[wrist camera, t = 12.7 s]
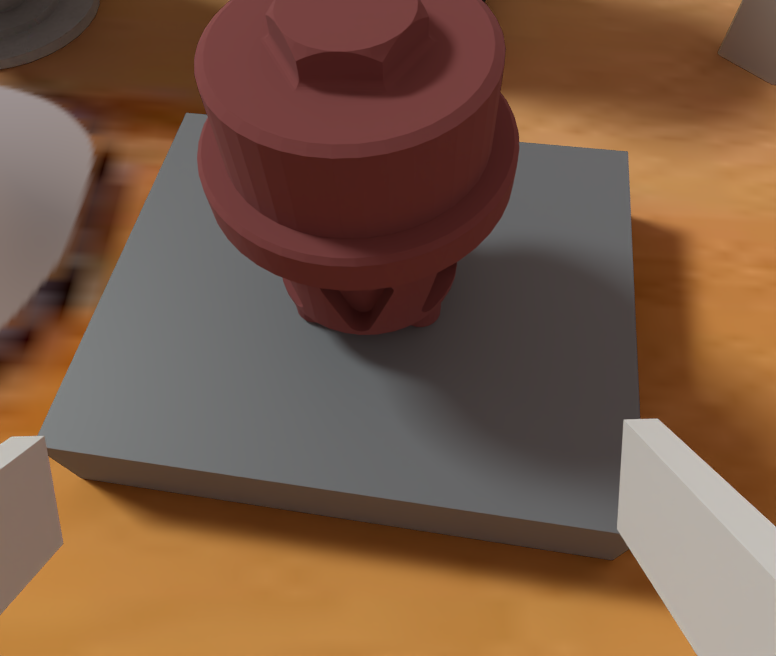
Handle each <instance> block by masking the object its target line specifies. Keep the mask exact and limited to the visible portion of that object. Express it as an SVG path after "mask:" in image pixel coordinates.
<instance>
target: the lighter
mask: <svg viewBox="0 0 776 656" xmlns="http://www.w3.org/2000/svg"><path fill="white" fill-rule="evenodd" d="M718 55H720V56H722V57H723V58H725V59H727V60H729V61H731V62H732V63H734V64H736V65H738V66H740V67H741V68H743V69H745V70H747V71H749V72H750V73H752V74H754V75H756V76H757V77H759V78H761V79H763V80H765V81H766V82H768V83H770V84H772V85H776V0H742V2H741V4H740V6H739V8H738V11H737V13H736V15H735V17H734V19H733V21H732V23H731V25H730V27H729V29H728V32H727V34H726V36H725V38H724V40H723V42H722V44H721V46H720V48H719V50H718Z"/></svg>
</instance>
